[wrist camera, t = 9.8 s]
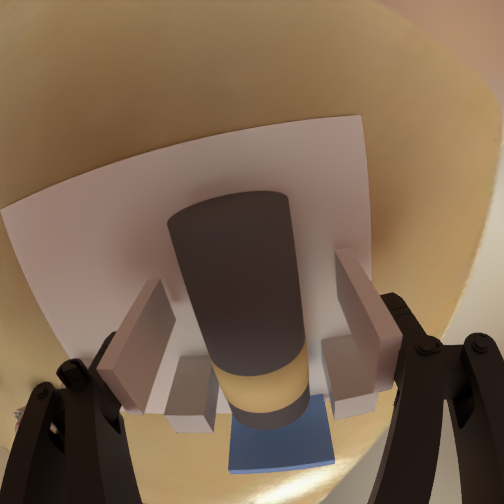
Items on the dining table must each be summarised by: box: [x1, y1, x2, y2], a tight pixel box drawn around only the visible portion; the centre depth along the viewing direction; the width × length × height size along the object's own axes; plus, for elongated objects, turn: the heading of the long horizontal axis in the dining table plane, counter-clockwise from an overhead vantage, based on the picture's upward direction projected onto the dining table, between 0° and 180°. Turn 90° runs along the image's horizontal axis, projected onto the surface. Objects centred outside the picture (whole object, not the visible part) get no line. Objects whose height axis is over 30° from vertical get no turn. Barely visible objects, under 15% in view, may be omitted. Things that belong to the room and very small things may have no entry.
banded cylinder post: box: [167, 191, 310, 430], centre depth 14 cm, size 12×5×5 cm, turn 10°
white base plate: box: [0, 115, 378, 474], centre depth 15 cm, size 20×23×7 cm
